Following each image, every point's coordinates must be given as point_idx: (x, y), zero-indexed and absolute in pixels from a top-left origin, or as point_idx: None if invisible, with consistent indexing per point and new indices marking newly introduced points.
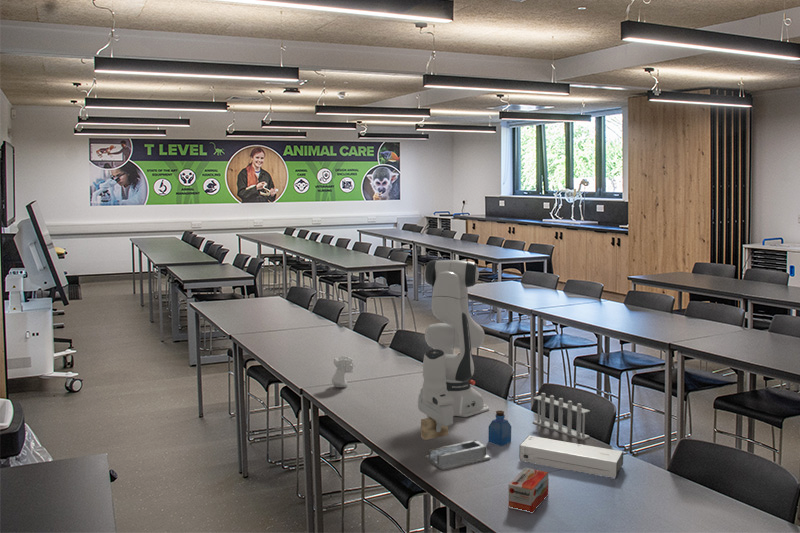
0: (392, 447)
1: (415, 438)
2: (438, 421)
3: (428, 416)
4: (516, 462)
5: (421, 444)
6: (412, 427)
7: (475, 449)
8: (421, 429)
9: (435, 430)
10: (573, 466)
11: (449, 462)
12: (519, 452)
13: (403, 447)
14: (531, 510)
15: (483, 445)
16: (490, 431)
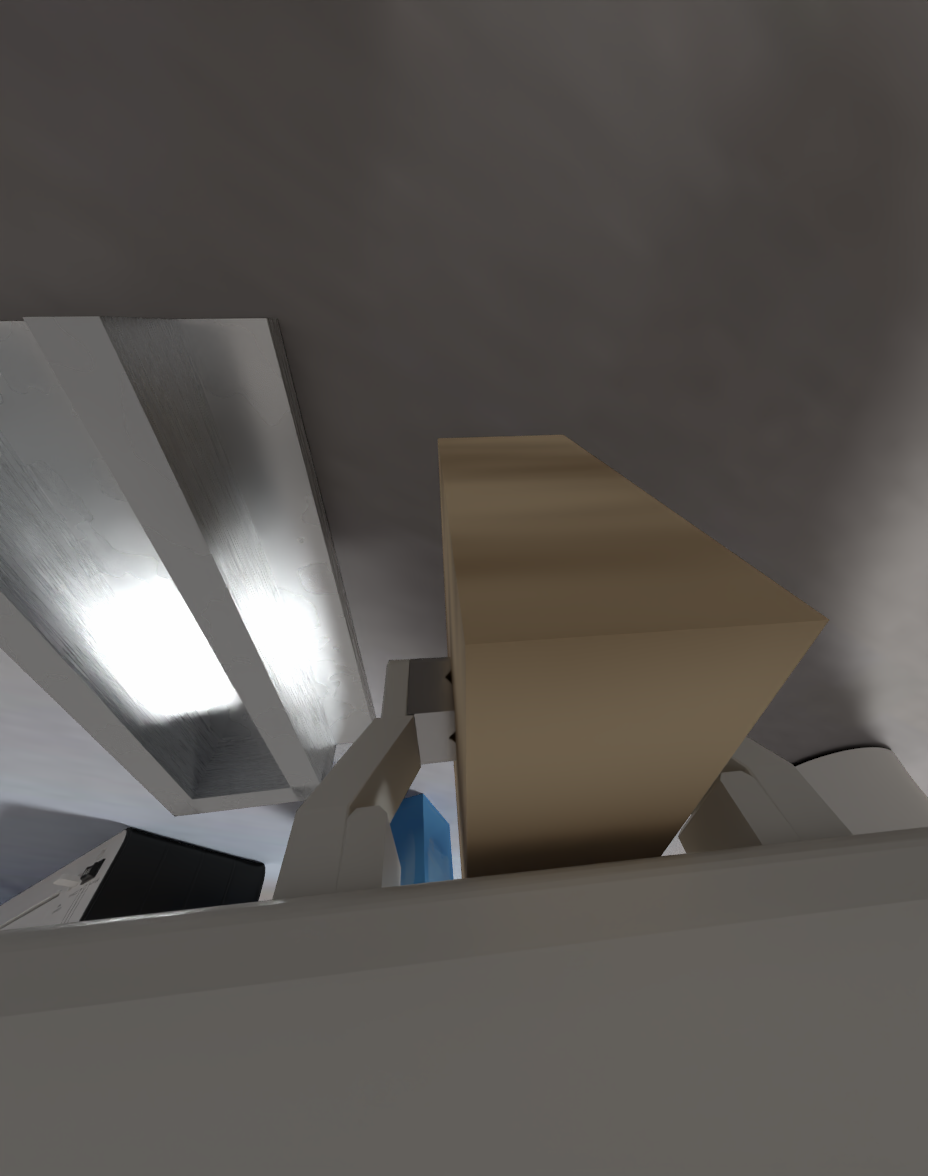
0: (850, 7)
1: (764, 490)
2: (11, 1010)
3: (762, 819)
4: (107, 813)
5: (628, 475)
6: (915, 565)
7: (124, 760)
8: (605, 475)
9: (426, 662)
10: None
11: None
12: (104, 878)
13: (713, 220)
14: None
15: (197, 809)
16: (410, 866)
